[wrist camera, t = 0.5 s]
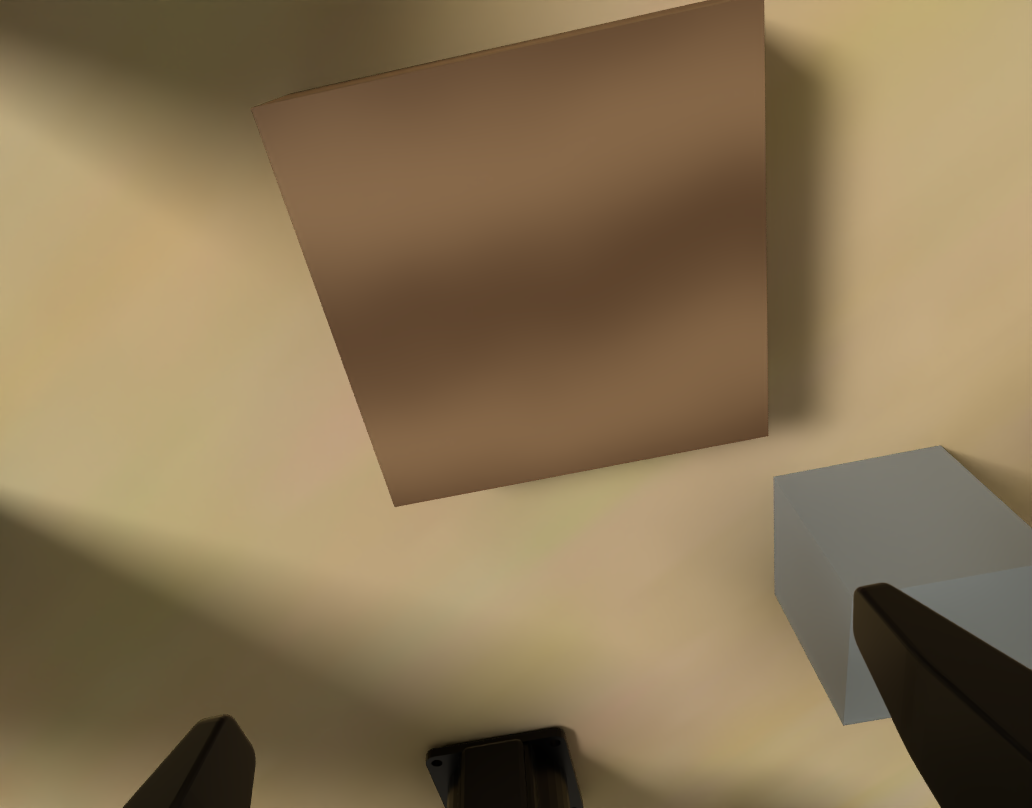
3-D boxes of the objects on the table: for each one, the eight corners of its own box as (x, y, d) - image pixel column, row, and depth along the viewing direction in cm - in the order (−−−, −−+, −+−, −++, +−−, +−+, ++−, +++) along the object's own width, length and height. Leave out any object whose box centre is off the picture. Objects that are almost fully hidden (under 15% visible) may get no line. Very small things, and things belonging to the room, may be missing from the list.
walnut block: (723, 373, 23) (768, 435, 19) (406, 434, 23) (394, 507, 20) (706, 0, 17) (764, -7, 14) (294, 92, 18) (250, 107, 14)
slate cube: (922, 565, 27) (1027, 694, 22) (773, 592, 28) (843, 725, 22) (939, 444, 24) (1065, 559, 19) (772, 475, 25) (852, 596, 19)
